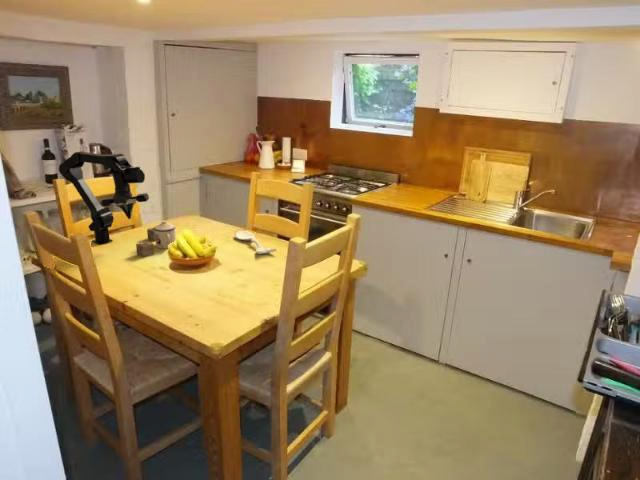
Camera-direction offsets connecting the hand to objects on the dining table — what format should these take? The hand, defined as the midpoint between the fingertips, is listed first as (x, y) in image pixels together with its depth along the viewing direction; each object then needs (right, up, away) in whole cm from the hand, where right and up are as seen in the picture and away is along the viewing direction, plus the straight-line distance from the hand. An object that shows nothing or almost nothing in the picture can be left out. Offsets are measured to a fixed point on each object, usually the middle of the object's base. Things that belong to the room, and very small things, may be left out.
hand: (129, 218), depth 204 cm
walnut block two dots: (+9, -16, -4) cm, 19 cm away
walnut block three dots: (+6, -9, +14) cm, 18 cm away
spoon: (+53, -12, +12) cm, 56 cm away
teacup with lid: (+15, -12, +6) cm, 20 cm away
